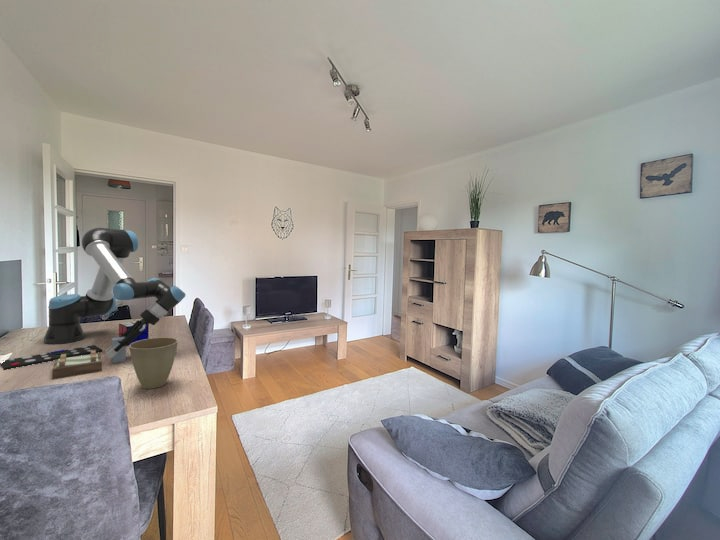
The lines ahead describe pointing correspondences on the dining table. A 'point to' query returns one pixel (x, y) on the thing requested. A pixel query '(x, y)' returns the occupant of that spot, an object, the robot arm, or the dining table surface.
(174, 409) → the dining table surface
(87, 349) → the remote control
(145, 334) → the puzzle cube
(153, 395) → the dining table surface
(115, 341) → the slate block
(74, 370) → the wooden tray
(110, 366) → the dining table surface
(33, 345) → the dining table surface
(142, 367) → the plant pot
